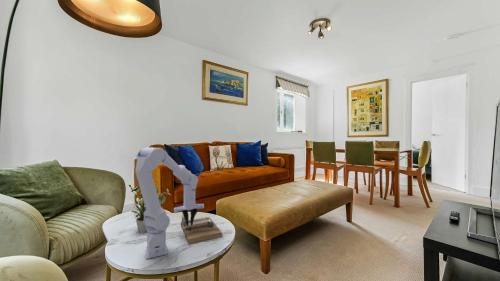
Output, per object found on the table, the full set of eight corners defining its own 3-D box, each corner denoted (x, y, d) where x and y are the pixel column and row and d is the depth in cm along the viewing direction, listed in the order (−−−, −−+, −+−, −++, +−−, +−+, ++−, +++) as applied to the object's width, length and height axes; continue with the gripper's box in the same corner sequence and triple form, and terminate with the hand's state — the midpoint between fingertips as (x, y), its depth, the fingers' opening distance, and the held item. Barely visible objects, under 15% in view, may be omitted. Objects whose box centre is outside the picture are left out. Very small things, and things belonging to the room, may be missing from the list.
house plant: (149, 238, 95) (149, 204, 95) (121, 237, 96) (121, 203, 95) (163, 225, 110) (163, 195, 109) (138, 224, 110) (138, 195, 110)
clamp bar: (212, 223, 105) (212, 220, 105) (186, 228, 99) (186, 225, 99) (210, 221, 108) (210, 218, 108) (185, 226, 102) (185, 222, 102)
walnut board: (221, 236, 98) (221, 226, 98) (188, 244, 91) (188, 233, 90) (209, 220, 117) (209, 212, 117) (180, 225, 110) (180, 216, 110)
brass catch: (188, 218, 107) (188, 215, 107) (183, 219, 105) (183, 215, 105) (186, 215, 111) (186, 211, 111) (182, 216, 110) (182, 212, 110)
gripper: (201, 193, 108) (201, 218, 108) (173, 197, 101) (173, 223, 102) (205, 197, 102) (205, 223, 102) (175, 201, 95) (174, 229, 95)
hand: (189, 224), depth 101 cm, fingers closed
